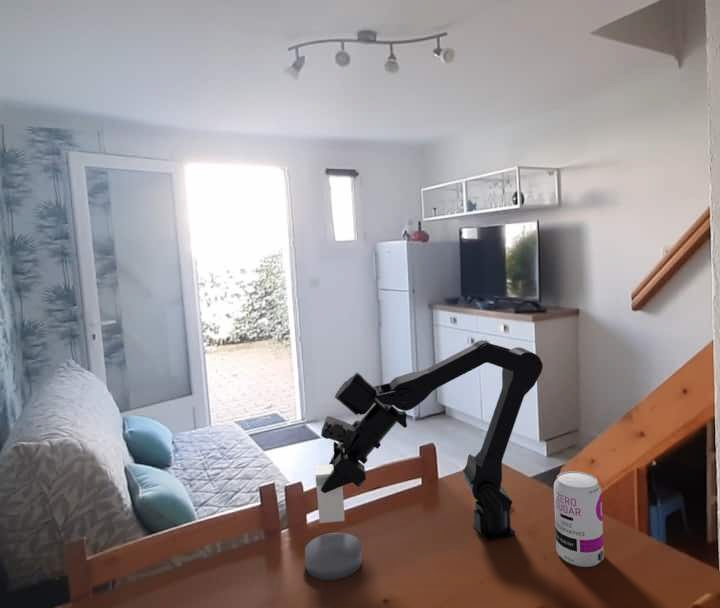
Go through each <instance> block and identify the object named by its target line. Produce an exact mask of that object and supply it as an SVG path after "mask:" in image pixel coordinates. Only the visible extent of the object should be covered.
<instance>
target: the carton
mask: <svg viewBox="0 0 720 608" xmlns="http://www.w3.org/2000/svg"><path fill="white" fill-rule="evenodd" d="M333 469H334V466H333V464H329V463H328V464H327V463H326V464H317V465H316V469H315V484H316V485H315V486H316V492H317V493H316V495H317V508H318V520H319V521H318V522H319V524H325V523H335V522H345V504H344V502H345V501H344V493H343V486H341V487H339V488H336V489H334V490H332V491H329V492H327V493H323V492H322V491H321V488H322V486H323V485H324V483H325V481H326V480H327V478H328V477H329V475H330V473H331V472H332V470H333Z"/></svg>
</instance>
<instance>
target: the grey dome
mask: <svg viewBox="0 0 720 608" xmlns="http://www.w3.org/2000/svg"><path fill="white" fill-rule="evenodd" d="M362 555H363V554H362V543H361V541H360V540H359V539H358V538H357V537H356V536H354V535H352V534H350V533H346V532H329V533H325V534H322V535H319V536H317V537H314V538H313V539H312V540H310V541H309V542H308V543H307V545H305V549H304V561H305V568H306V571H307V573H308V574H309V575H310V576H312V577H313V578H316V579H319V580H325V581H333V580H334V581H335V580H340V579H344V578H347V577H349V576H352V575H353V574H355V573H356V572H357V571H358V570H359V569H360V568H361V566H362V563H363V556H362Z"/></svg>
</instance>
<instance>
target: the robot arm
mask: <svg viewBox="0 0 720 608" xmlns="http://www.w3.org/2000/svg"><path fill="white" fill-rule="evenodd" d="M486 363H487V364H491V365H494V366H497V367H498V368H499V367H500V368H502V370H501V376H502V377H501V379H502V382H501V385H502V386H501V391H500V394H499V395H498V399H497V402H496V405H495V408H494V411H493V415H492V417H491V420H490V422H489V426H488V429H487V431H486V433H485V438H484V440H483V443H482V446H481V449H480V451H479V452H478V453H477V454H476V455H475V456H474V455H472V454H470V453H469V454H468V456H467V460H466V465H465V467H464V468H463V470H462V473H463V474H464V476H463V477H464V481H465V484H466V485H467V487H468V489H469V490H470V491H469V492H471V494H472V496H473V497H474V499H476V501H475V509H474V510H473V517H474V518H473V519H474V523H473V525H472V526H473V528H474V529H475V530H476V531H477V532H478V533H479V534H480V535H481V536H482V537H483V538H484V539H485V540H486V541H487V542H488V541H493V540H497V539H501V538H502V539H503V538H507V537H511V536H514V535H516V531H515V530H514V529H512V527H511V508H512V505H513V500H512V499H511V498H510V496H509V495H508V494H507V492H506V491H505V490H504V488H503V487H502V482H503V458H504V456H505V453H506V451H507V447H508V444H509V442H510V439H511V435H512V432H513V430H514V426H515V424H516V420H517V418H518V415H519V412H520V409H521V406H522V404H523V401H524V398H525V396H526V395H527V394H528V393H529V392H530V391H531V389H532V388H533V387H534V386H535V385H536V382H537V381H538V380H539V378H540V376H541V374H542V372H543V362H542V360H541V358H540V357H539V355H537V354H536V353H533V352H532V351H529V350H528V349H526V348H523V347H517V346H516V347H513V348H511V349H510V348H508V347H505V346H501V345H497V344H493V343H491V342H489V341H487V340H482V339H481V340H478V341H477V340H476V341H475V343H473V344H472V345H470V346H468V347H467V348H465V349H463V350H461V351H458V352H456V353H455V354H452V355H451V356H448V357H447V358H445V359H443V360H441V361H439V362H438V363H435V364H434V365H432V366H430V367H428V368H426V369H425V368H424V369H423V370H420V371H419V370H418V371H413V372H409V373H406V374H403V375H399V376H396V377H394V378H393V379H392V380H391V381H390V382H388V383H382V384H378V385H372V384H371V383H369V381H367V379H365V378H364V377H363V375H361V374H360V373H359V372H358V371H357V372H355V373H354V374H353V375H352V376H351V377H350V378H348V379H347V380H345V381H344V382H343V383H342V385H341V386H340V387H339V388H338V390H337V392H336V393H335V395H334V398H335V399H336V400H337V401H338V402H340V403H341V404H342V405H343V406H344V407H346V408H347V409H348V410H349V411H351V413H352V414H354V415H355V416H357V415H360V416H361V415H364V416H363V417H362V418H361V420H359V419H357V420H355V421H354V422H353V423H352V424H351V423H348V422H346V421H344V420H341V419H339V418H336V417H333V416H330V415H329V416H328V415H327V416H326V418H325V420H324V422H323V425H322V427H321V433H320V435H321V437H322V438H323V439H327V440H328V439H330V440H332V441H333V455H332V457H331V459H330V461H329V463H328V464H333V466H334V469H333V470H332V472H331V473H330V475H329V477H328V478H327V480H326V481H325V483H324V485H323V486H322V488H321V491H322V492H323V493H327V492H329V491H332V490H334V489H336V488H339V487H341V486H342V487H344V486H346V485H348V484H354V485H355V486H356V487H359V488H360V487H361V486H362V484H363V483H364V482H365V481H366V480H367V478H366V468H365V464H366V463H367V462H368V456H369V455H370V454H371V453H372V452H373V450H375V449H377V450H378V449H379V448H380V447H381V441H382V440H383V439H384V438H385V437H386V436H387V434H388V433H389V432H390V431H391V429H392V428H393V427H394V426H395V425H396V424H397V423H398V424H399V425H400V426H401V427H403V428H404V429H406V428H407V427H408V423H407V418H408V417H407V416H408V414H407V411H410V410H413V409H414V408H416V407H417V406H418V405H420V404H421V403H423V401H425V400H427V398H428V397H429V396H430V394H432V393H433V392H434V391H435V390H436V389H439V388H440V387H441V386H444V385H445V384H448V383H449V382H451V381H454V380H456V379H457V378H459V377H461V376H463V375H465V374H467V373H468V372H470V371H472V370H474V369H477V368H478V367H480V366H482V365H484V364H486ZM400 410H401V411H400Z"/></svg>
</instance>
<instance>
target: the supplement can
mask: <svg viewBox="0 0 720 608" xmlns="http://www.w3.org/2000/svg"><path fill="white" fill-rule="evenodd" d="M602 495H603V494H602V487H601V485H600V483H599V482H598V479H597V478H596V477H595V476H594V475H591V474H589V473H586V472H583V471H582V472H581V471H564V472H561V473H559V474H558V475H557V476H556V479H555V481H554V483H553V499H554V500H553V501H554V520H555V521H554V523H555V526H554V527H555V546H556V547H555V548H556V552H557V554H558V556H559V557H560V558H561V559H562V560H564V562H567V563H568V564H570V565H573V566H576V567H580V568H581V567H582V568H588V567H589V568H590V567H595V566H597V565H599V564H600V563H601V562H603V560H604V558H605V556H604V529H603V528H604V527H603V525H604V524H603V502H602V501H603V496H602Z"/></svg>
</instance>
